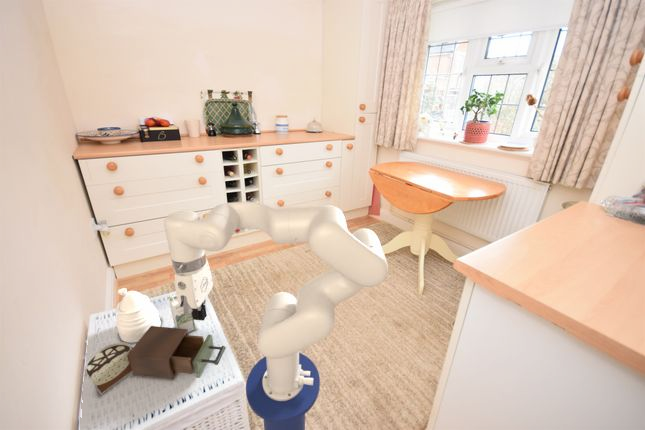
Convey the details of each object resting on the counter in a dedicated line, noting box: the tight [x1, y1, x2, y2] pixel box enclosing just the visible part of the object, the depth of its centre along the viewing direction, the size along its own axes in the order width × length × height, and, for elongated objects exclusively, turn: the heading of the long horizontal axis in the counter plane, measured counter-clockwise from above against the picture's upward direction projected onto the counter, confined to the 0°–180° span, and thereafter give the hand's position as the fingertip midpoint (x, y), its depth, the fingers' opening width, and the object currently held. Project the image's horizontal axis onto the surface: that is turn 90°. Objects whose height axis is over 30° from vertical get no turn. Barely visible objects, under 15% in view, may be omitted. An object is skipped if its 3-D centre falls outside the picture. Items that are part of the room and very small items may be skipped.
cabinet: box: [127, 326, 190, 380], centre depth 93 cm, size 13×12×9 cm
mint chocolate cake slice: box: [84, 342, 134, 395], centre depth 87 cm, size 12×6×10 cm, turn 149°
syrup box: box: [168, 294, 196, 334], centre depth 104 cm, size 6×6×14 cm
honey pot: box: [115, 287, 162, 344], centre depth 103 cm, size 13×13×18 cm
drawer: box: [170, 334, 227, 379], centre depth 92 cm, size 17×10×7 cm, turn 85°
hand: (199, 317), depth 78 cm, fingers closed
